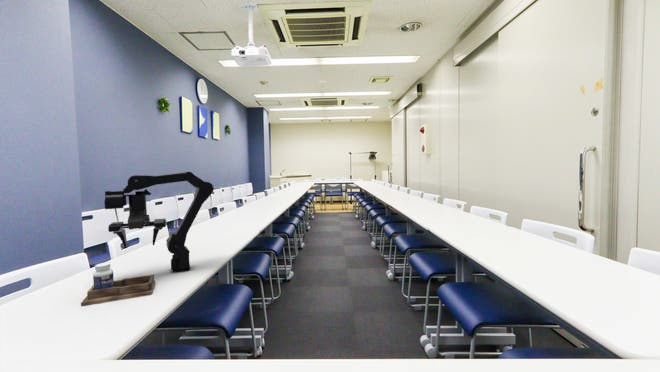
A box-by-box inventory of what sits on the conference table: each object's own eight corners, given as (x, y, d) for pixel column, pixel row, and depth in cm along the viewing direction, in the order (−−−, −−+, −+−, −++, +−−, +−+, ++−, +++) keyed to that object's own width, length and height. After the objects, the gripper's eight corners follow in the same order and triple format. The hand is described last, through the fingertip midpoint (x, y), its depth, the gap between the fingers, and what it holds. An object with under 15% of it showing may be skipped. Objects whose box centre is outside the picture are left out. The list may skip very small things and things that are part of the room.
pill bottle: (103, 297, 98) (101, 267, 98) (90, 295, 100) (88, 266, 99) (118, 290, 104) (116, 262, 103) (106, 289, 105) (104, 261, 104)
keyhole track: (155, 282, 113) (154, 273, 113) (151, 294, 102) (151, 284, 102) (92, 292, 105) (91, 282, 105) (81, 306, 94) (80, 295, 94)
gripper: (103, 211, 107) (106, 255, 108) (163, 207, 115) (165, 248, 116) (110, 208, 117) (113, 247, 118) (165, 204, 125) (167, 242, 126)
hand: (140, 246), depth 119 cm, fingers open, 9 cm apart
